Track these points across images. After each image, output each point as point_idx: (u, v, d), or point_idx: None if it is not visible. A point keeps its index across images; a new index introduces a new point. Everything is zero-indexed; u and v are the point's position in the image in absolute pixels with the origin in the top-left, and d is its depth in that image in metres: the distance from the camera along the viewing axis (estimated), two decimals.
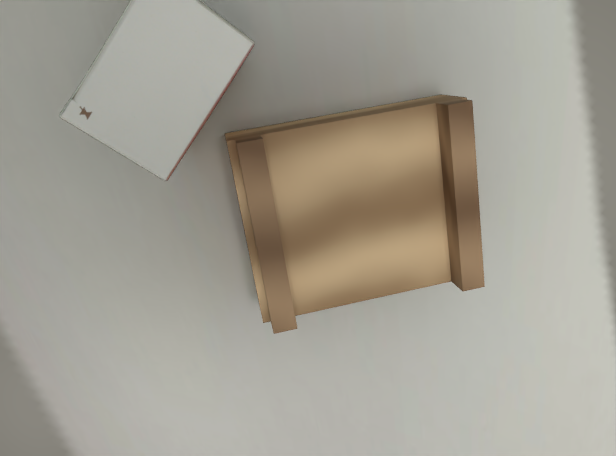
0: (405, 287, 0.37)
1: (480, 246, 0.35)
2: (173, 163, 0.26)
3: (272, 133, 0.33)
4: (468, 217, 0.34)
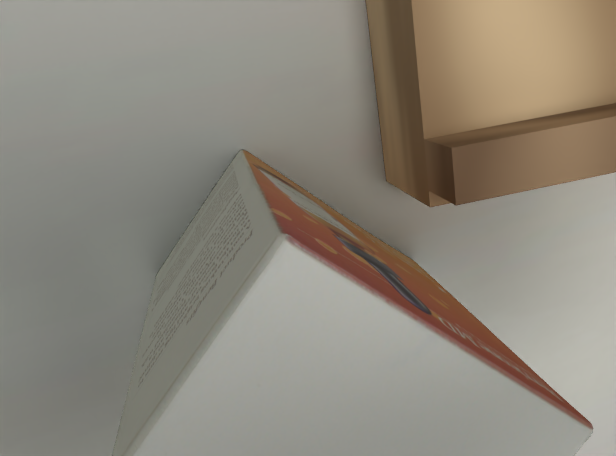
0: None
1: None
2: (561, 417, 0.11)
3: (422, 112, 0.15)
4: None
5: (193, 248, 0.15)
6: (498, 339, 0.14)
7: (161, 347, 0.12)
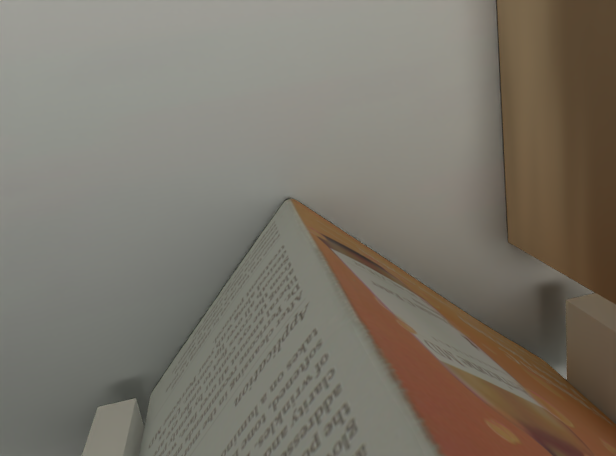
0: None
1: None
2: None
3: None
4: None
5: (213, 406, 0.08)
6: None
7: None
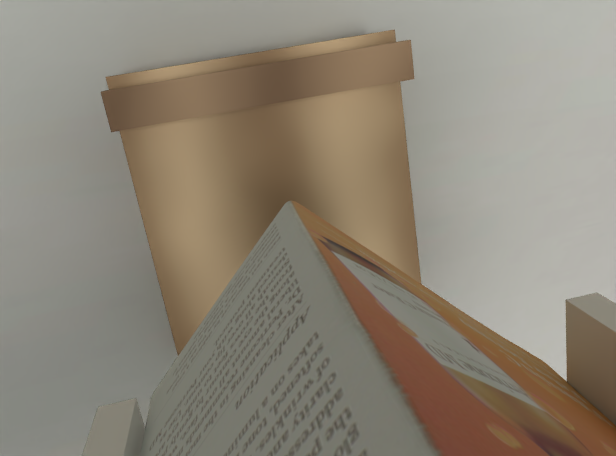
0: (401, 152, 0.25)
1: (341, 53, 0.21)
2: None
3: (177, 347, 0.26)
4: (291, 79, 0.21)
5: (214, 409, 0.08)
6: None
7: None
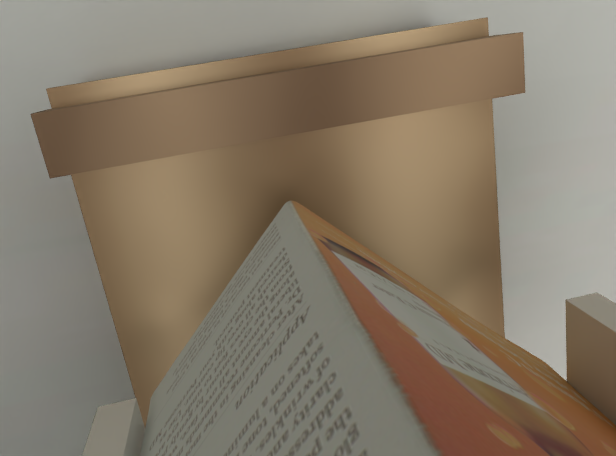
0: (488, 198, 0.17)
1: (416, 53, 0.14)
2: None
3: None
4: (338, 94, 0.14)
5: (214, 409, 0.08)
6: None
7: None
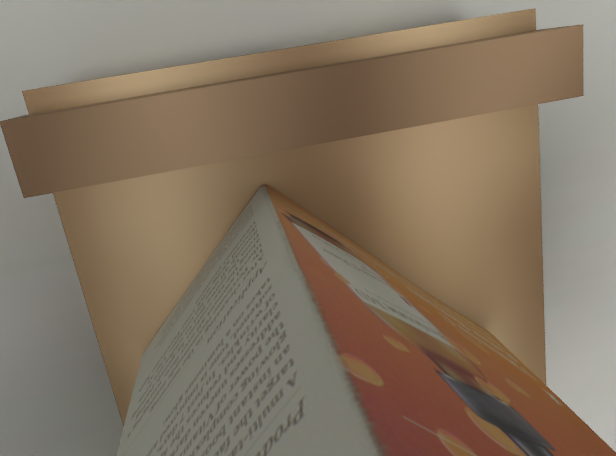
0: (531, 216, 0.15)
1: (458, 49, 0.12)
2: None
3: None
4: (365, 98, 0.11)
5: (191, 348, 0.10)
6: None
7: None
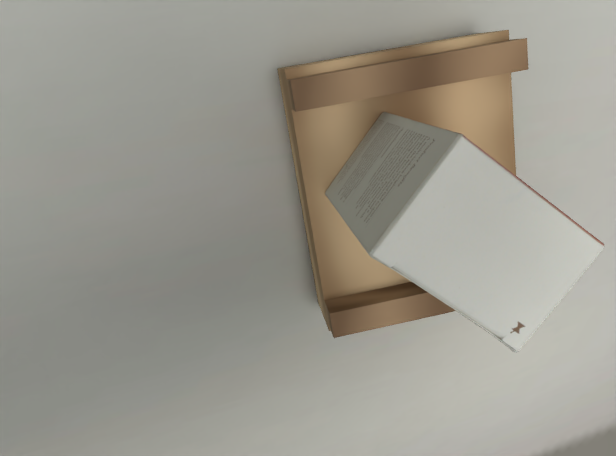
0: (508, 130, 0.31)
1: (473, 49, 0.27)
2: (588, 237, 0.21)
3: (322, 288, 0.32)
4: (433, 70, 0.27)
5: (371, 164, 0.26)
6: None
7: (377, 203, 0.22)
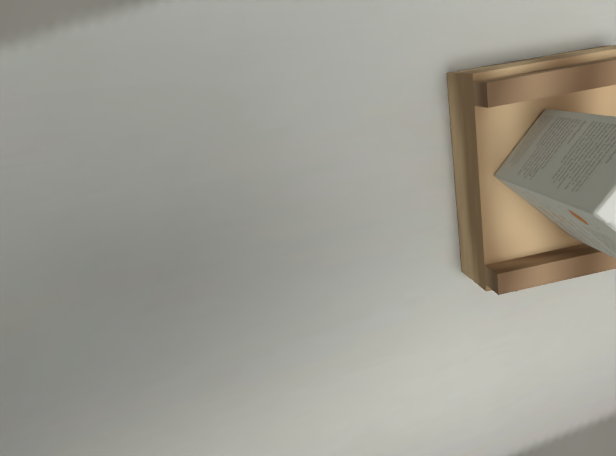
0: None
1: None
2: None
3: (484, 255, 0.38)
4: (595, 75, 0.34)
5: (555, 149, 0.32)
6: None
7: (583, 177, 0.29)
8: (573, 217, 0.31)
